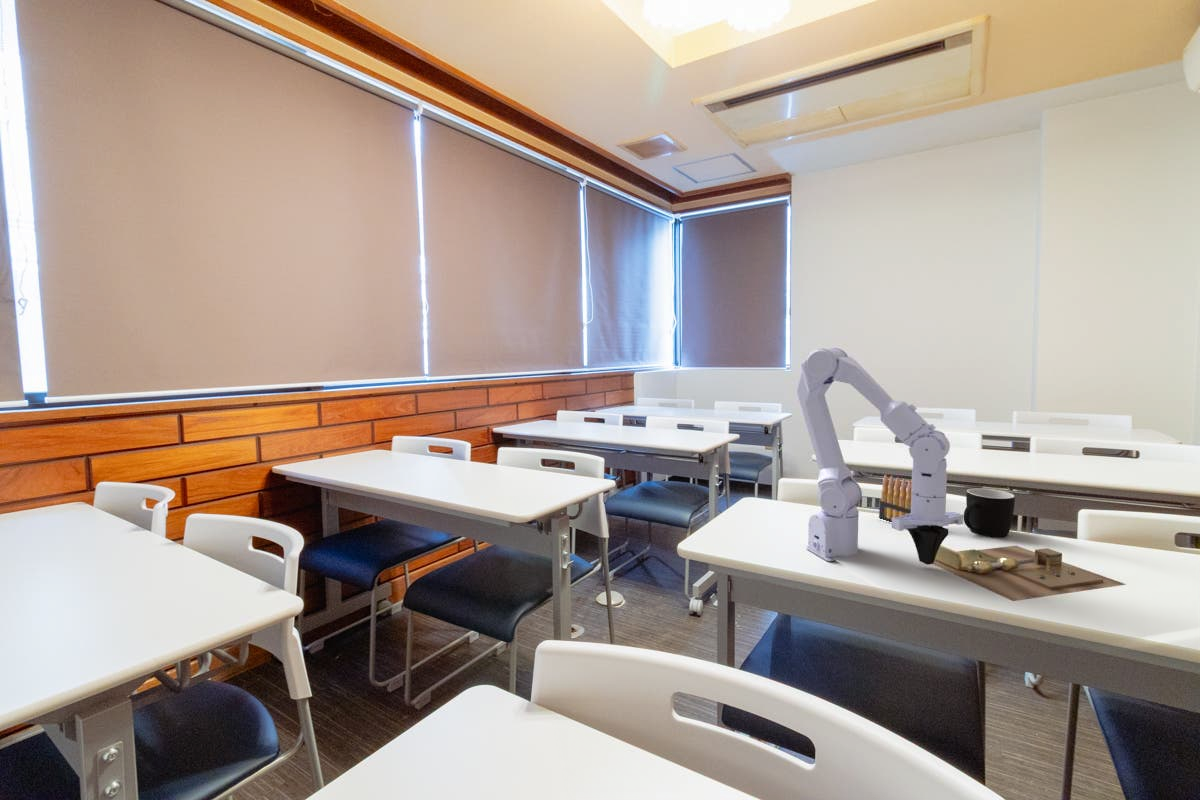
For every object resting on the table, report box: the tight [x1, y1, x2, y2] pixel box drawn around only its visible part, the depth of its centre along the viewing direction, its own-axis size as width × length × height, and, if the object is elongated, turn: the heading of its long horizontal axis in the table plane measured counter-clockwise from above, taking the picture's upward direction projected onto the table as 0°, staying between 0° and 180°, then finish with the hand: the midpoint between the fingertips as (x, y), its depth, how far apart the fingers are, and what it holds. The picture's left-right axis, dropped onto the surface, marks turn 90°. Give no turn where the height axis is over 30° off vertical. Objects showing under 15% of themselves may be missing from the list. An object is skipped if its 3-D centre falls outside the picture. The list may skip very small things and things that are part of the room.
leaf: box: [935, 544, 1034, 574], centre depth 105 cm, size 15×10×3 cm, turn 103°
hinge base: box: [1012, 547, 1103, 590], centre depth 99 cm, size 12×10×3 cm
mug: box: [963, 487, 1016, 539], centre depth 122 cm, size 12×9×10 cm
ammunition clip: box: [878, 473, 912, 522], centre depth 131 cm, size 11×2×12 cm, turn 19°
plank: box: [918, 545, 1126, 602], centre depth 102 cm, size 25×20×1 cm
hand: (926, 562), depth 103 cm, fingers closed
